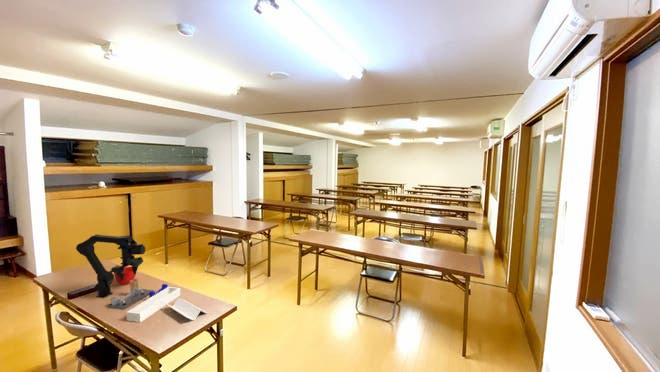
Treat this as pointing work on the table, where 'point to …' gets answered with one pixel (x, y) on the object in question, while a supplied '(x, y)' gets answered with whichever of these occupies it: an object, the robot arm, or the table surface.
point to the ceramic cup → (125, 276)
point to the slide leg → (134, 286)
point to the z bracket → (186, 309)
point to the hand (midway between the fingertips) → (128, 277)
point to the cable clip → (158, 290)
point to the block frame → (152, 304)
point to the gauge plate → (128, 300)
